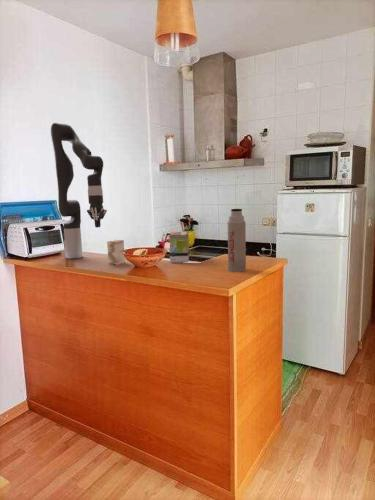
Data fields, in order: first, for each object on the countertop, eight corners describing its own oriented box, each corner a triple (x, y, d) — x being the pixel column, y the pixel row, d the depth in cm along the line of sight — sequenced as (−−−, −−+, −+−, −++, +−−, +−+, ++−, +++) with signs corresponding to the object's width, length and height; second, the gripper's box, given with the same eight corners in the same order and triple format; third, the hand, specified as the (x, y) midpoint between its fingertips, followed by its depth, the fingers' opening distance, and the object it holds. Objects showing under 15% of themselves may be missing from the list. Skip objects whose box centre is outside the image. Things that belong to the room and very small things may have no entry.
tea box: (189, 262, 192) (188, 234, 189) (169, 263, 192) (168, 234, 190) (189, 257, 207) (188, 230, 204) (171, 257, 207) (170, 231, 204)
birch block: (108, 263, 195) (106, 241, 193) (116, 261, 200) (114, 239, 198) (117, 264, 192) (115, 241, 190) (124, 262, 197) (123, 240, 195)
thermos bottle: (233, 272, 166) (233, 209, 161) (225, 269, 173) (224, 208, 168) (249, 270, 169) (248, 208, 164) (239, 267, 176) (239, 208, 171)
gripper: (81, 195, 197) (83, 227, 199) (99, 194, 190) (101, 228, 192) (91, 194, 203) (94, 226, 206) (109, 194, 196) (111, 226, 199)
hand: (97, 227), depth 199 cm, fingers closed
